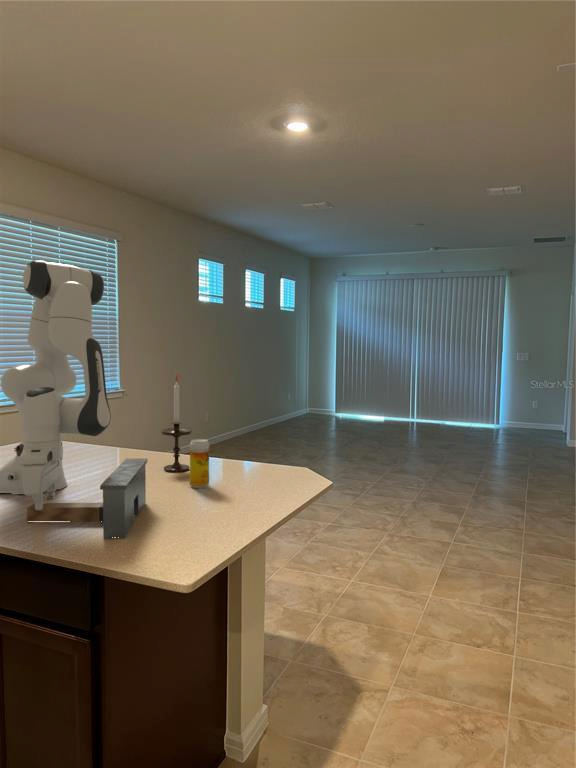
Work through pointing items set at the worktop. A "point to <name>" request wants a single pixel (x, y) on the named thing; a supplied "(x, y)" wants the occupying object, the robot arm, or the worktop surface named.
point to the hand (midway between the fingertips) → (45, 504)
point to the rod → (67, 512)
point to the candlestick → (176, 435)
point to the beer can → (199, 463)
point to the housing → (123, 497)
